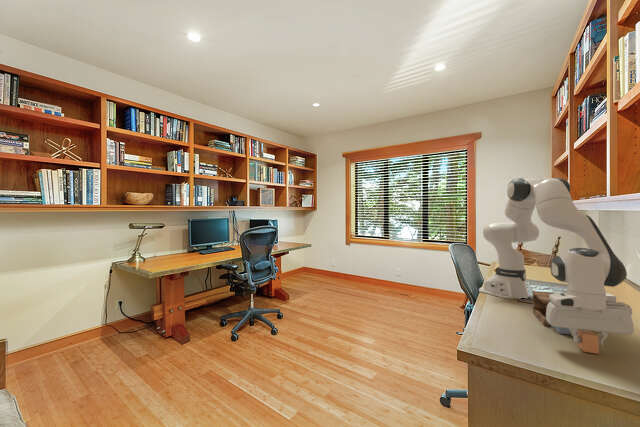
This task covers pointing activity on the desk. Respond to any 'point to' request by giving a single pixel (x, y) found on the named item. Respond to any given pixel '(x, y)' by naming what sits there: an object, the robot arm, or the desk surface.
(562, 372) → the desk surface
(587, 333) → the cube on a stick
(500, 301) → the desk surface
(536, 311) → the shelf
